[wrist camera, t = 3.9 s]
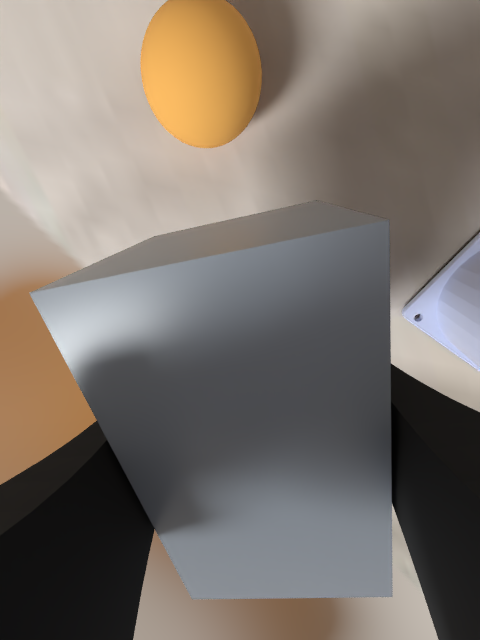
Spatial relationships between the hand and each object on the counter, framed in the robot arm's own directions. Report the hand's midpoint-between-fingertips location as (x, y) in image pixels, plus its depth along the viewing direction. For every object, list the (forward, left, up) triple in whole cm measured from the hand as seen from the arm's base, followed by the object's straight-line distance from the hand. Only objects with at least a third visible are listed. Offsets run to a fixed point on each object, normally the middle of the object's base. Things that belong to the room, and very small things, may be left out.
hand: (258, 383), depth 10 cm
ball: (+8, -7, -7) cm, 13 cm away
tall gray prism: (0, 0, -2) cm, 3 cm away
